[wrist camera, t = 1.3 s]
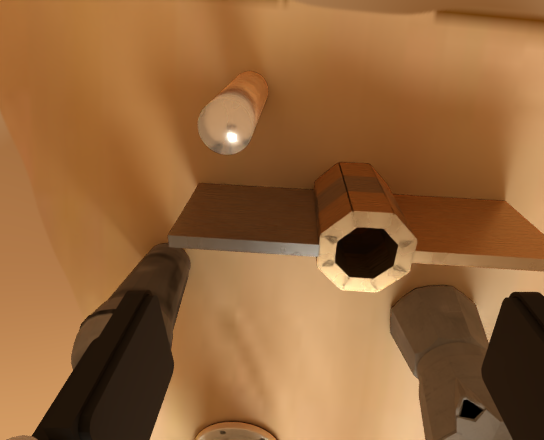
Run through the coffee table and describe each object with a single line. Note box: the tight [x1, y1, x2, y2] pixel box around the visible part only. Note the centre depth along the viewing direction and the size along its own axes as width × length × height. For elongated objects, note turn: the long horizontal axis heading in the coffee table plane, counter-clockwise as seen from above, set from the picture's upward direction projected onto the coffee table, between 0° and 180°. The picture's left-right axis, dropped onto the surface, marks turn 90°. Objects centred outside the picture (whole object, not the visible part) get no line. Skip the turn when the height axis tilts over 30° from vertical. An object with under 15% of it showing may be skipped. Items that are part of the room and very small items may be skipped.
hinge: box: [168, 162, 544, 292], centre depth 30 cm, size 28×7×10 cm, turn 88°
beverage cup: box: [71, 243, 190, 370], centre depth 31 cm, size 7×7×20 cm
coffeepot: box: [390, 285, 513, 440], centre depth 33 cm, size 15×9×18 cm, turn 30°
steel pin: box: [198, 71, 268, 155], centre depth 25 cm, size 3×3×12 cm
